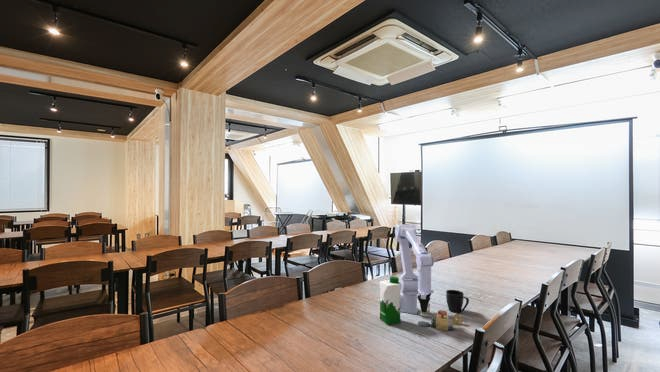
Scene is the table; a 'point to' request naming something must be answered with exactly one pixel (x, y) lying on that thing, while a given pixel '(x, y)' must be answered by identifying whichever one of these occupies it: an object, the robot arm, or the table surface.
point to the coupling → (426, 314)
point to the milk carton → (390, 301)
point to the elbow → (457, 320)
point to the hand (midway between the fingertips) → (424, 310)
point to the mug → (456, 301)
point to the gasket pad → (424, 324)
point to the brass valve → (442, 321)
